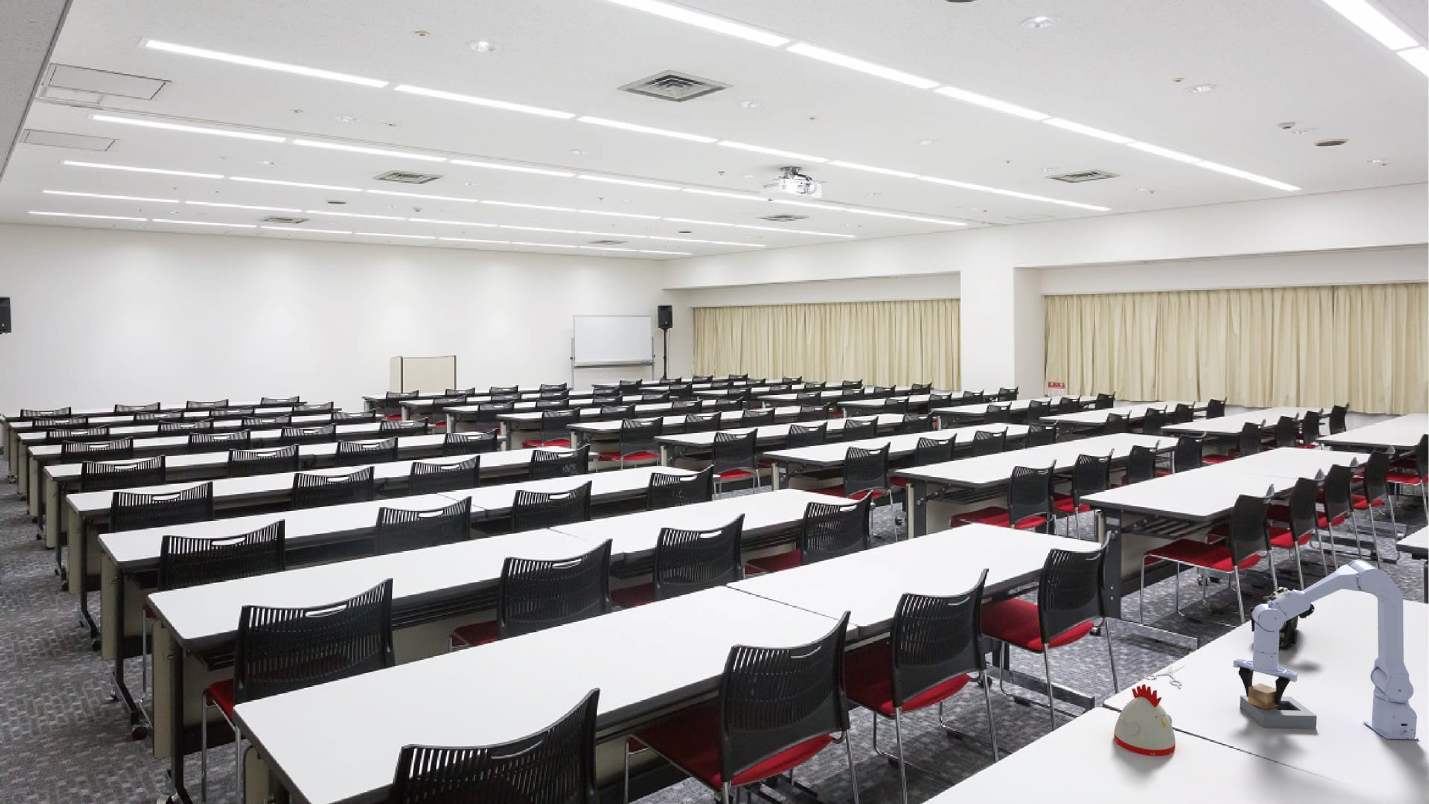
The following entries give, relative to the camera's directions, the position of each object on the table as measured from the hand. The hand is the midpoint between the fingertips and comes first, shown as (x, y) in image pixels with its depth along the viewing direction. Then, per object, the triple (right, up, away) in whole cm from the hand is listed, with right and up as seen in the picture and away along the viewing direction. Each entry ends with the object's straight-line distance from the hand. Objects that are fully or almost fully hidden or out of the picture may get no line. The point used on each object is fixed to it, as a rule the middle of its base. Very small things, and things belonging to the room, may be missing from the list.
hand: (1263, 699), depth 241 cm
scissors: (-10, -3, +30) cm, 32 cm away
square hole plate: (+4, -5, 0) cm, 6 cm away
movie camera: (+42, +1, +58) cm, 71 cm away
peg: (0, -4, 0) cm, 4 cm away
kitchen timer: (-38, -7, -13) cm, 40 cm away
